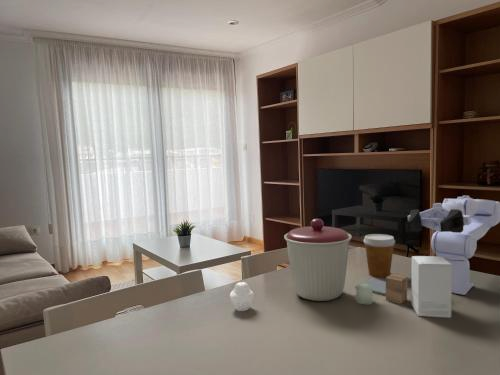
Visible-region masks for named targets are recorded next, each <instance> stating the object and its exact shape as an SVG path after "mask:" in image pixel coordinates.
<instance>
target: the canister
mask: <svg viewBox="0 0 500 375" xmlns="http://www.w3.org/2000/svg"><path fill="white" fill-rule="evenodd" d="M352 236H353V235H352V234H350V233H349V232H348V231H346V230H344V229H342V228H340V227H339V228H338V227H334V226H333V227H332V226H325V225H324V221H323V220H322V219H321V218H313V219H312V220H311V221H310V226H301V227H297V228H293V229H292V230H290V231H289V232H287V233H286V234H284V236H283V237H284V238H283V239H284V240H285V241H286V246H287V255H288V260H289V269H290V274H291V282H292V286H293V289H294V292H295V293H296V294H297V295H298V296H299V297H301V298H303V299H306V300H309V301H314V302H316V301H317V302H325V301H331V300H335V299H337V298H338V297H340V296H341V294H343V292H344V289H345V284H346V275H347V268H348V267H347V266H348V256H349V248H350V246H349V245H350V241H351V240H352Z"/></svg>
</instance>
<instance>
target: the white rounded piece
mask: <svg viewBox="0 0 500 375" xmlns="http://www.w3.org/2000/svg"><path fill="white" fill-rule="evenodd" d="M254 297H255V294H254V292H253V291H252V290H251V288H250V287H249V284H248V283H247V282H245V281H240V282H237V283H236V284H235V285H234V288H233V289H232V291H231V292H230V294H229V299H230V302H231V303H232V305H233V306H234V308H235V309H236V311H237V312H245V311H248V310H249V309H250V308H251V305H252V302H253V300H254Z"/></svg>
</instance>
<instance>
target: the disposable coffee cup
mask: <svg viewBox="0 0 500 375" xmlns="http://www.w3.org/2000/svg"><path fill="white" fill-rule="evenodd" d="M362 241H363V243H364V247H365V253H366V254H365V255H366V256H365V257H366V261H367V268H368V275H369V276H372V277H375V278H386V277H388V276H389V275H391V268H392V261H393V255H394V254H393V253H394V247H395V243H396V240H395V238H394V236H393V235H389V234H383V233H382V234H381V233H373V234H372V233H371V234H367V235H365V236H364V238H363V240H362Z"/></svg>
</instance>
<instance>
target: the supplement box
mask: <svg viewBox="0 0 500 375" xmlns="http://www.w3.org/2000/svg"><path fill="white" fill-rule="evenodd" d="M451 279H452V264H450V263H449V262H448V261H447V260H446V259H444V258H443V257H442V256H436V255H435V256H434V255H433V256H431V255H428V256H427V255H414V256H413V255H412V256H411V301H410V302H411V305H412V308H413V309H414V311H415V312H416V314H417V316H418V317H434V318H449V319H450V318H452V292H451Z"/></svg>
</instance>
